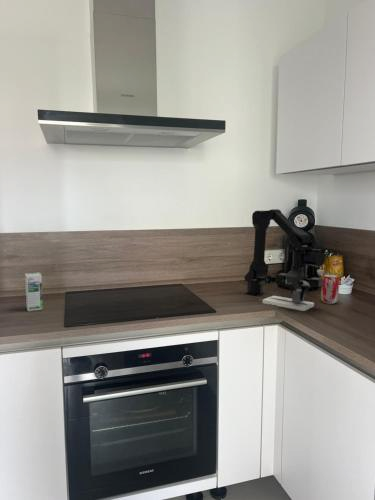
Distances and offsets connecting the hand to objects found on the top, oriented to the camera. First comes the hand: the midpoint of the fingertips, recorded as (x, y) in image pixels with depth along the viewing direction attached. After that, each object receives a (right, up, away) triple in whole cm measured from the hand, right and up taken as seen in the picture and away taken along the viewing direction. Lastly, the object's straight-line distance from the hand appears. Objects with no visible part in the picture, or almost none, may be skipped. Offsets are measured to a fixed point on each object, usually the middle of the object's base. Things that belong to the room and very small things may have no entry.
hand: (298, 299), depth 163 cm
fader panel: (-3, -2, +3) cm, 5 cm away
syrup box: (-108, -3, -7) cm, 109 cm away
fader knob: (0, -1, 0) cm, 1 cm away
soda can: (+16, -2, +8) cm, 18 cm away
